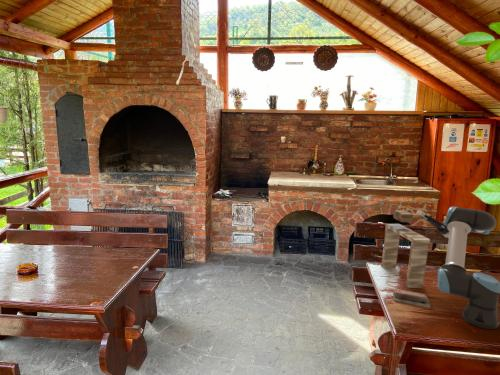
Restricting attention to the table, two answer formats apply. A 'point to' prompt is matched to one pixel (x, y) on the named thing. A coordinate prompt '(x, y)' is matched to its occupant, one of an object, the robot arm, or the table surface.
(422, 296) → the packaged product
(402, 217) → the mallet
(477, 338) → the table surface
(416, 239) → the frame
